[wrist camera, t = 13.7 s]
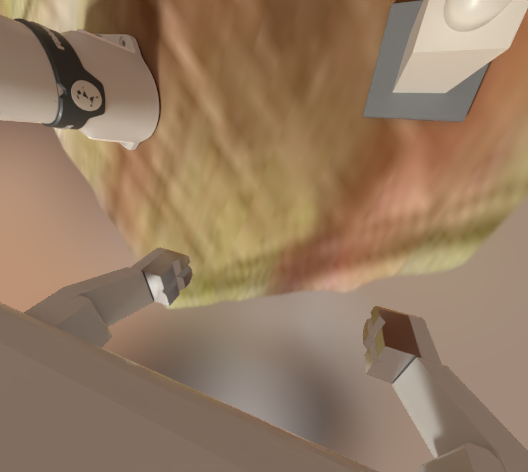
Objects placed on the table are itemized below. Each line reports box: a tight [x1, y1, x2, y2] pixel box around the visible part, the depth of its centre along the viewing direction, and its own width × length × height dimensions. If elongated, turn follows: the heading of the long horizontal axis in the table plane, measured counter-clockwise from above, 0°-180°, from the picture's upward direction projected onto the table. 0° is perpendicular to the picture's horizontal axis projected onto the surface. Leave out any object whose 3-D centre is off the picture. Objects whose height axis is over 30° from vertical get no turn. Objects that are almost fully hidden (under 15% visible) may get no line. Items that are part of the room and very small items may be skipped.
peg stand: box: [363, 0, 490, 122], centre depth 19 cm, size 10×10×8 cm
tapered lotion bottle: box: [392, 0, 528, 93], centre depth 16 cm, size 5×5×13 cm
